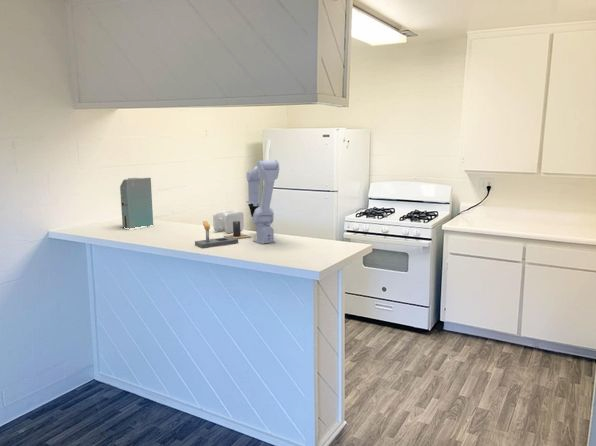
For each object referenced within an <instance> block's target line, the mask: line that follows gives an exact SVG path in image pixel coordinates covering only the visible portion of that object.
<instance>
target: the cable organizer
mask: <svg viewBox="0 0 596 446" xmlns="http://www.w3.org/2000/svg"><path fill="white" fill-rule="evenodd" d="M244 217H245V215H244V212H243V211H241V210H239V211H233V210H231V209H229V210H223V211H217V212H214V213H213V215H212V218H213V221H212V222H213V231H214V232H218V233H221V232H225V233H226V234H233V221H240V231H241V232H242V231H243V229H244V227H245V224H244V223H245V219H244Z"/></svg>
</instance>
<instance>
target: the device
mask: <svg viewBox="0 0 596 446" xmlns="http://www.w3.org/2000/svg"><path fill="white" fill-rule="evenodd" d="M119 191H120V192H119V193H120V204H121V205H120V207H121V220H122V228H123V227H125V228H129V229H130V228H135V227H141V226H150V225H153V226H154V215H153V214H154V213H153V195H152V191H153V190H152V178H151V177H128V178H126V179H123V180H122V182H121V184H120V185H119Z"/></svg>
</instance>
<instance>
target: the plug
mask: <svg viewBox="0 0 596 446" xmlns="http://www.w3.org/2000/svg"><path fill="white" fill-rule="evenodd" d="M241 232H242V230H241V231H240V221H233V233H232V235H233V236H234V237H240V236H241V234H242V233H241Z"/></svg>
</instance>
